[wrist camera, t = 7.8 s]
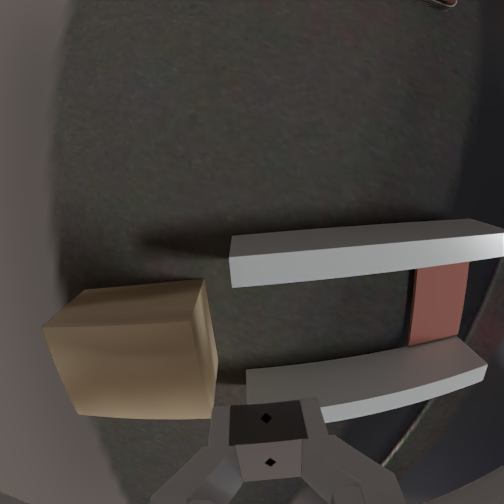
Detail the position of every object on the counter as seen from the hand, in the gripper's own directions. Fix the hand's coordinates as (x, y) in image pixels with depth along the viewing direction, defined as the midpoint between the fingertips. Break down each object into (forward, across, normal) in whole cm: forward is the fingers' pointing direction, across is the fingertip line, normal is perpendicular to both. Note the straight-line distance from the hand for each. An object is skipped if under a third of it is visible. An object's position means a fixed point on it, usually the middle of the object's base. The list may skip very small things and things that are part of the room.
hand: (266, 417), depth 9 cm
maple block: (+8, +6, +1) cm, 10 cm away
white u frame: (+8, -6, +1) cm, 10 cm away
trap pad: (+8, -11, +1) cm, 14 cm away
